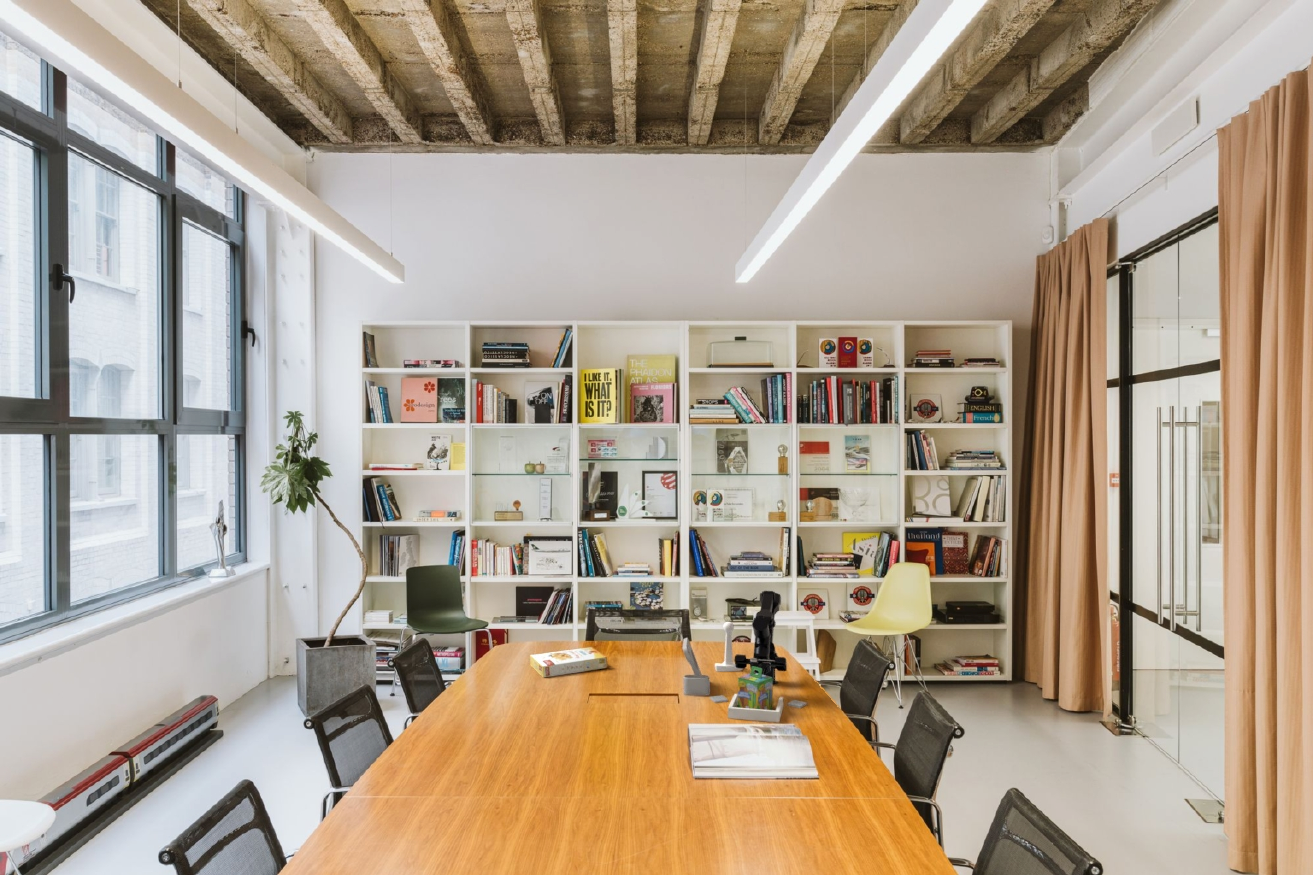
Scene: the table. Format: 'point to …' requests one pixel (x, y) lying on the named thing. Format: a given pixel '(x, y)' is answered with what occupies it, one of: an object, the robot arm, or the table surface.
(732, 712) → the corral
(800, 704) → the tile
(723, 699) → the tile
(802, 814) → the table surface
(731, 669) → the joystick
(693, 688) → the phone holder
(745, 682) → the chalk box
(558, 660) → the cereal box
